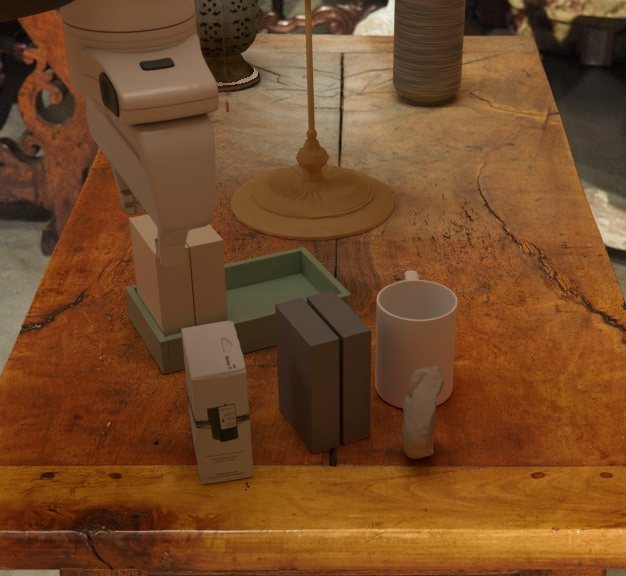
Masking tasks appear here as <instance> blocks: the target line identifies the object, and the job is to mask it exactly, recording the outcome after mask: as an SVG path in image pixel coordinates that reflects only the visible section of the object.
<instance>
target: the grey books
mask: <svg viewBox="0 0 626 576" xmlns="http://www.w3.org/2000/svg"><path fill="white" fill-rule="evenodd" d="M306 301H307V302H306ZM306 301H305V300H304V299H303V298H299V299H295V300H291V301H286V302H282V303H278V304H275V318H276V343H277V345H276V365H277V366H276V367H277V393H278V410H279V411H280V412H281V413H282V415H283V417H285V419H286V420H287V422H288V423H289V424H290V426H291V427H292V428H293V430H294V431H295V432H296V434H297V435H298V437H299V438H300V440H302V442H303V443H304V445H305V446H306V448H307V449H308V450H309V451H310V453H311V454H312V455H316V454H319V453H322V452H325V451H329V450H332V449H335V448H338V447H340V446H341V443H342V444H343V446H344V445H348V444H351V443H354V442H358V441H361V440H364V439H368V438H371V399H372V397H371V394H372V393H371V389H372V328H370V327H369V326H368V325H367V324H366V323H365V322H364V321H363V320H362V318H361V317H359V315H358V314H357V313H356V312H355V311H354V310H353V309H352V307H351V308H350V307H349V306H348V305H347V304H346V303H345V302H344V301H343V300H342V299H341V298H340V297H339V296H338V295H337V294H336V293H335V292H334V291H333V290H331V291H327V292H323V293H319V294H315V295H311V296H307V297H306Z"/></svg>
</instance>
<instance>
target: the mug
mask: <svg viewBox="0 0 626 576" xmlns="http://www.w3.org/2000/svg"><path fill="white" fill-rule="evenodd" d="M458 304H459V298H458V297H457V295H456V293H455V292H454V291H453V290H452V289H451V288H449V287H447V286H445V285H444V284H441V283H439V282H436V281H430V280H427V279H426V280H425V279H420V275H419V272H418V271H417V270H406V271H404V273H403V280H400V281H399V280H398V281H395V282H392V283H391V284H388V285H386V286H385V287H383V288H382V289H380V290H379V292H378V294H377V296H376V308H375V309H376V310H375V312H376V313H375V314H376V315H375V316H376V317H375V369H374V370H375V371H374V373H375V375H374V383H375V384H374V386H375V387H374V388H375V391H376V393H377V394H378V396H379V397H380V399H382V400H383V401H384V402H385V403H387V405H390V406H393V407H395V408H399V409H403V401H404V397H406V396H407V395H409V385H410V381H411V378H412V376H413V373H414V371H415V370H416V369H423V368H427V367H433V366H437V367H439V368H440V370H441V372H442V376H443V378H444V386H443V388H442V391H441V392H440V394H439V396H438V397H437V405H436V407H438V406H440V405H442V404H443V403H445V402H446V401H447V400H448V399H449V398H450V397H451V395H452V392H453V390H454V389H453V388H454V372H455V358H456V357H455V355H456V340H457V338H456V337H457V321H458Z"/></svg>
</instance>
